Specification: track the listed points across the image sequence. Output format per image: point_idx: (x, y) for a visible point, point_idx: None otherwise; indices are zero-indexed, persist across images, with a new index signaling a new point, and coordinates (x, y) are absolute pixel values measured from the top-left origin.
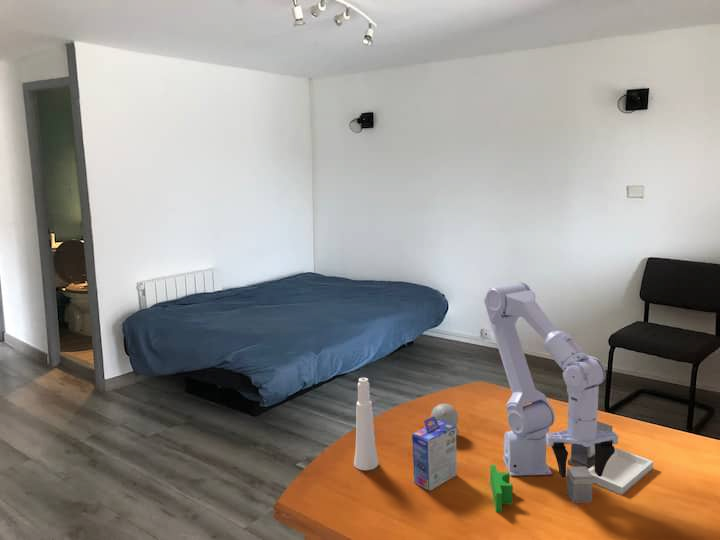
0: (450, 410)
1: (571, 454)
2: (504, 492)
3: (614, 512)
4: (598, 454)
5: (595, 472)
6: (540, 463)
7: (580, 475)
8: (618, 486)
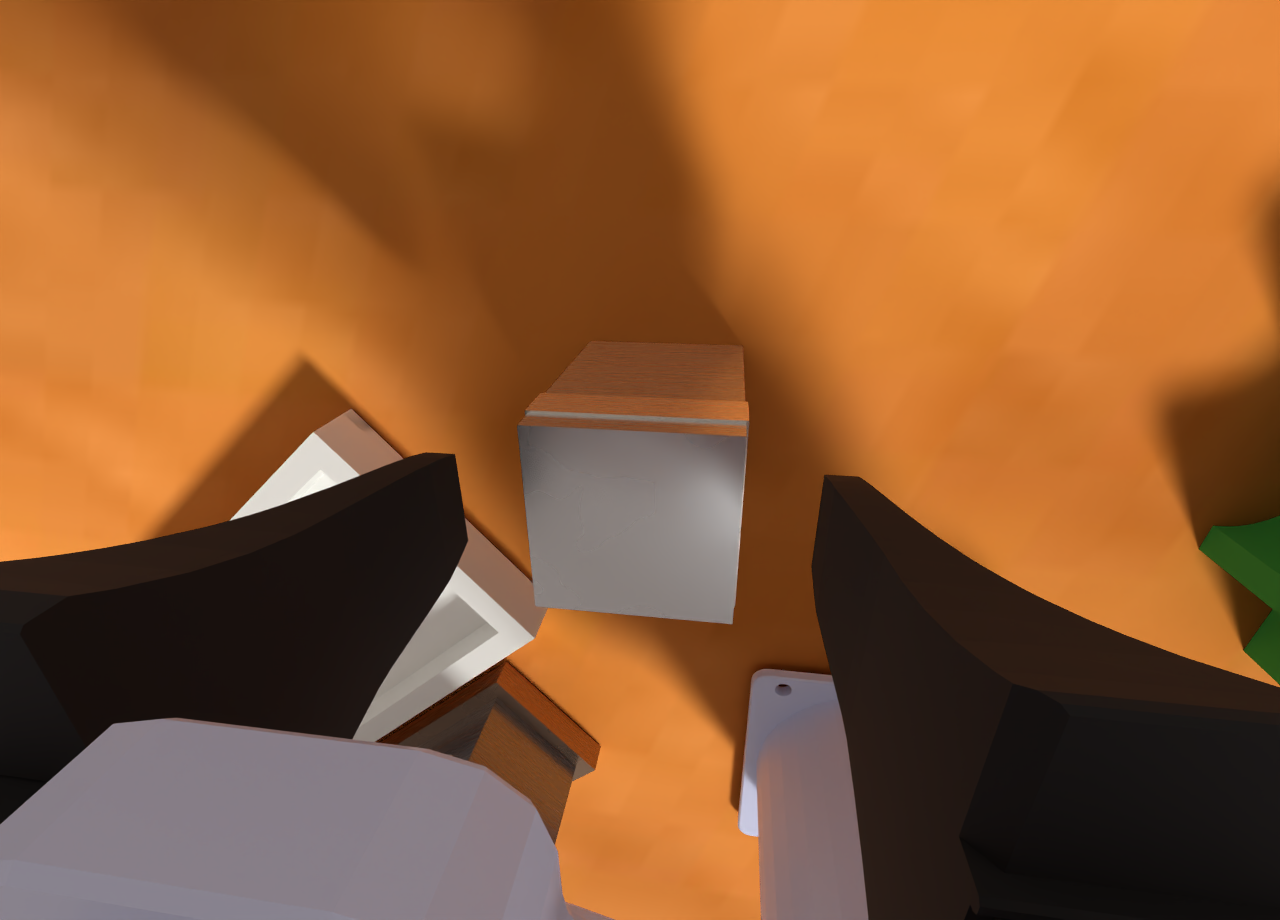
0: None
1: (562, 803)
2: None
3: (456, 190)
4: (313, 660)
5: (458, 643)
6: (842, 757)
7: (654, 459)
8: (339, 453)
